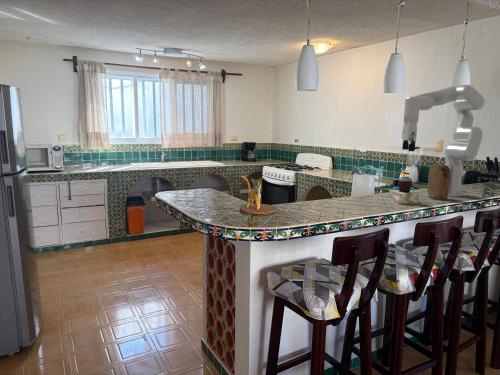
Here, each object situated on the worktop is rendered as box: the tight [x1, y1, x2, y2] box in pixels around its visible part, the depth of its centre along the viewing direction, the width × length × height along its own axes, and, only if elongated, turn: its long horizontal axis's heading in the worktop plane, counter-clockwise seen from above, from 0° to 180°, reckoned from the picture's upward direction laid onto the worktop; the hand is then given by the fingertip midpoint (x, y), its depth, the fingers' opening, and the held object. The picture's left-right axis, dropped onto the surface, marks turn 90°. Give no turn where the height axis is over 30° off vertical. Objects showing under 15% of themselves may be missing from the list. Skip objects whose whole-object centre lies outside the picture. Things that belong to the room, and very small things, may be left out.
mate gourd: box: [398, 165, 413, 193], centre depth 203 cm, size 8×8×15 cm
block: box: [427, 164, 451, 201], centre depth 214 cm, size 11×8×20 cm
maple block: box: [388, 189, 419, 205], centre depth 206 cm, size 11×11×6 cm
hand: (408, 150), depth 206 cm, fingers open, 9 cm apart
